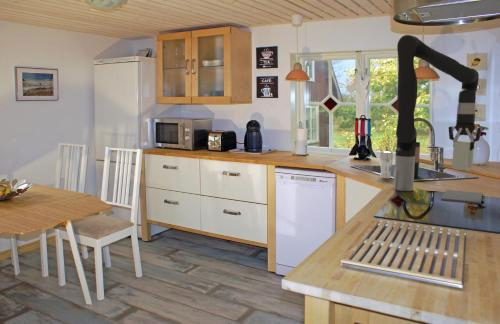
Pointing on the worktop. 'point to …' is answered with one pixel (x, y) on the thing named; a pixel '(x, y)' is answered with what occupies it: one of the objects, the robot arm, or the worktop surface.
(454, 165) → the tall sage green block
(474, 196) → the mat
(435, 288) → the worktop surface
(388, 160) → the beer glass
